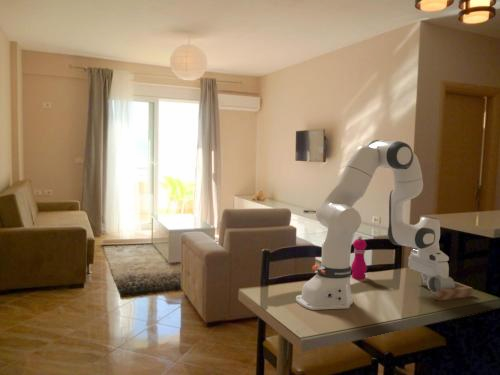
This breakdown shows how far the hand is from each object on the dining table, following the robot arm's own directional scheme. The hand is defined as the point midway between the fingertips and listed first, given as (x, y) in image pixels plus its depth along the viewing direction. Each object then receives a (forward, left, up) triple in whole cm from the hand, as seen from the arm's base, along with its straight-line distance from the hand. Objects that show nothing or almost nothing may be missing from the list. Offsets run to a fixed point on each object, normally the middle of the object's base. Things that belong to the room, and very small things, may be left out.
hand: (426, 283), depth 181 cm
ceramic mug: (0, -7, -2) cm, 7 cm away
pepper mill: (-20, +22, -2) cm, 30 cm away
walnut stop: (+1, -9, -2) cm, 9 cm away
